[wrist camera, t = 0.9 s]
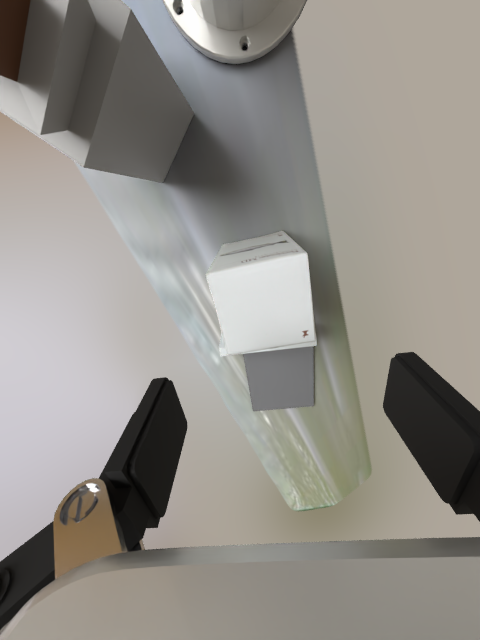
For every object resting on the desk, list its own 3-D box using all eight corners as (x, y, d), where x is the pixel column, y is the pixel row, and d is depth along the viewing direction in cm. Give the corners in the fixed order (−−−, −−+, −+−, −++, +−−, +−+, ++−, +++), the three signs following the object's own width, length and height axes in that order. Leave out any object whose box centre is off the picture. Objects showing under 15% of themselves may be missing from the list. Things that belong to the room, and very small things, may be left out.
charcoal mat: (243, 351, 34) (243, 352, 34) (312, 343, 33) (313, 345, 33) (253, 409, 39) (253, 411, 39) (313, 404, 39) (313, 405, 38)
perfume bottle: (194, 113, 22) (51, -122, 6) (163, 182, 24) (6, 152, 8) (125, 57, 20) (-332, -482, 4) (100, 138, 23) (-240, -4, 7)
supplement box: (284, 228, 26) (312, 250, 15) (291, 289, 30) (319, 344, 18) (220, 242, 27) (202, 272, 16) (234, 300, 30) (227, 359, 19)
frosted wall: (221, 332, 33) (218, 348, 29) (308, 321, 32) (316, 337, 28) (223, 339, 33) (220, 356, 30) (308, 329, 32) (316, 345, 29)
